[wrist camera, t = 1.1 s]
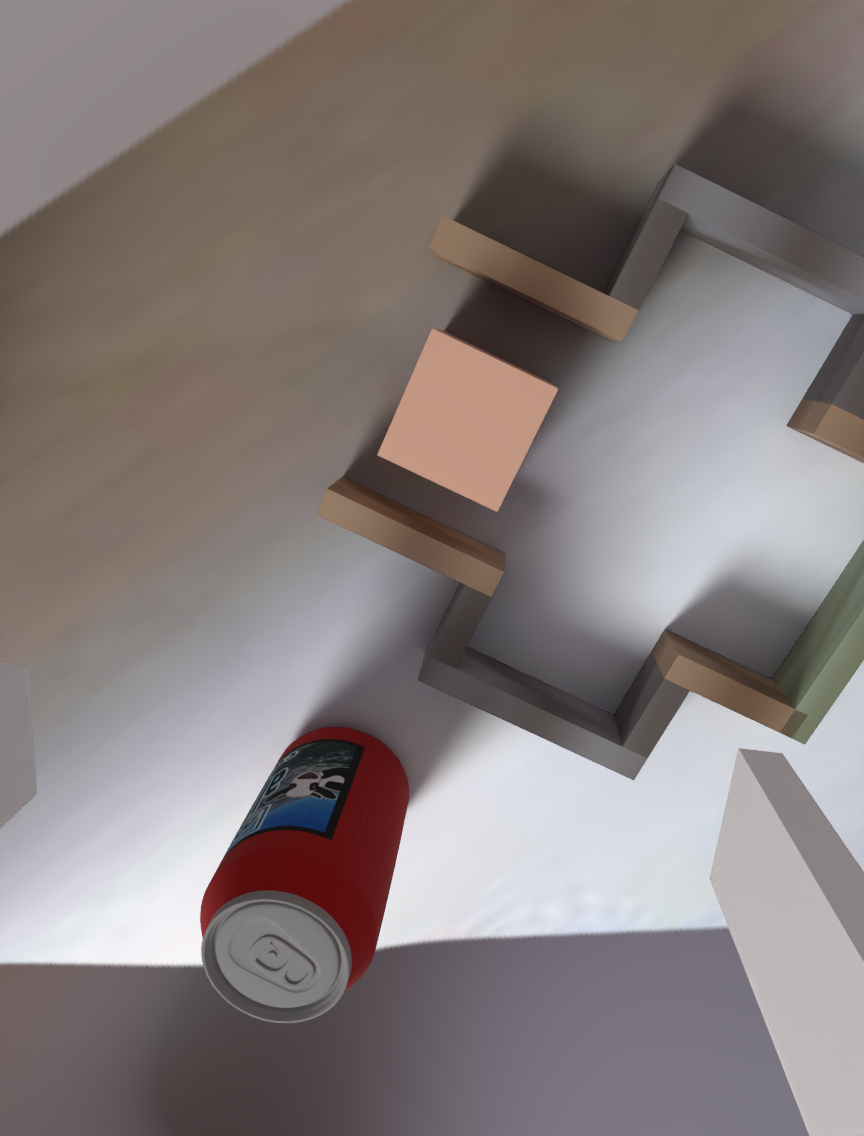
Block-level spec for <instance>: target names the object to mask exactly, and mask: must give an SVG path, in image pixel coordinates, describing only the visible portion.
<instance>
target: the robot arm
mask: <svg viewBox="0 0 864 1136" xmlns="http://www.w3.org/2000/svg"><path fill="white" fill-rule="evenodd" d="M36 794H37V789H36V774H35V760H34V746H33V731H32V717H31V702H30V688H29V673H28V665H20V664H12V663H3V662H0V829H1V828H2V827H3V826H4V825H5V824H6V823H7V822H8V821H9V820H10V819H11V818H12V817H13V816H14V815H15V814H16V813H17V812H18V811H19V810H20V809H21V808H22V807H23V806H25V805H26V804H27V803H28V802H29V801H30V800H31V799H32V798H33V797H34V796H35V795H36ZM710 881H711V884H712V886H713V889H714V891H715V894H716V897H717V899H718V902H719V904H720V907H721V909H722V912H723V915H724V917H725V920H726V922H727V925H728V927H729V930H730V933H731V935H732V938H733V940H734V943H735V945H736V948H737V951H738V953H739V956H740V958H741V961H742V963H743V966H744V969H745V971H746V974H747V976H748V979H749V981H750V984H751V987H752V989H753V991H754V994H755V997H756V999H757V1002H758V1004H759V1007H760V1010H761V1012H762V1015H763V1017H764V1020H765V1023H766V1025H767V1027H768V1030H769V1033H770V1035H771V1038H772V1040H773V1043H774V1046H775V1048H776V1051H777V1053H778V1056H779V1059H780V1061H781V1064H782V1066H783V1069H784V1071H785V1074H786V1077H787V1079H788V1081H789V1084H790V1087H791V1089H792V1092H793V1094H794V1097H795V1100H796V1102H797V1105H798V1107H799V1110H800V1112H801V1115H802V1117H803V1120H804V1123H805V1125H806V1128H807V1131H808V1133H809V1136H864V872H863V870H862V869H861V867H860V866H859V864H858V863H857V862H856V860H855V859H854V857H853V856H852V854H851V853H850V851H849V850H848V848H847V847H846V846H845V844H844V843H843V841H842V840H841V838H840V837H839V835H838V834H837V832H836V831H835V829H834V828H833V827H832V825H831V824H830V822H829V821H828V819H827V818H826V816H825V815H824V813H823V812H822V811H821V809H820V808H819V806H818V805H817V803H816V802H815V800H814V799H813V797H812V796H811V794H810V793H809V792H808V790H807V789H806V787H805V786H804V784H803V783H802V781H801V780H800V778H799V777H798V776H797V774H796V773H795V771H794V770H793V768H792V767H791V765H790V764H789V762H788V761H787V759H786V758H785V757H784V755H783V754H782V753H774V752H765V751H757V750H748V749H739V748H738V753H737V757H736V762H735V766H734V771H733V775H732V780H731V784H730V789H729V794H728V798H727V803H726V807H725V812H724V816H723V821H722V825H721V830H720V834H719V839H718V843H717V848H716V852H715V857H714V862H713V866H712V871H711V875H710Z"/></svg>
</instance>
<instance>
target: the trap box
mask: <svg viewBox="0 0 864 1136" xmlns="http://www.w3.org/2000/svg"><path fill="white" fill-rule="evenodd" d="M680 230H681V231H683V232H685V233H688V234H690V235H692V236H694V237H696V238H698V239H700V240H702V241H704V242H706V243H708V244H710V245H712V246H714V247H716V248H718V249H720V250H722V251H724V252H726V253H728V254H730V255H732V256H734V257H737V258H739V259H741V260H743V261H745V262H747V263H749V264H751V265H753V266H755V267H757V268H759V269H761V270H763V271H765V272H767V273H769V274H771V275H773V276H775V277H777V278H779V279H781V280H784V281H786V282H788V283H790V284H792V285H794V286H796V287H798V288H800V289H802V290H804V291H806V292H808V293H810V294H812V295H814V296H816V297H818V298H820V299H822V300H824V301H826V302H828V303H831V304H833V305H835V306H837V307H839V308H841V309H843V310H845V311H847V312H849V313H851V314H853V316H852V317H851V319H850V321H849V322H848V324H847V326H846V327H845V329H844V331H843V332H842V334H841V336H840V337H839V339H838V341H837V342H836V344H835V346H834V347H833V349H832V351H831V352H830V354H829V356H828V357H827V359H826V361H825V362H824V364H823V366H822V367H821V369H820V371H819V372H818V374H817V376H816V377H815V379H814V381H813V382H812V384H811V386H810V387H809V389H808V391H807V392H806V394H805V396H804V397H803V399H802V401H801V403H800V404H799V406H798V408H797V409H796V411H795V413H794V414H793V416H792V418H791V419H790V421H789V423H788V424H787V426H788V427H790V428H792V429H794V430H796V431H798V432H800V433H803V434H805V435H807V436H809V437H811V438H813V439H815V440H817V441H819V442H821V443H823V444H825V445H827V446H829V447H831V448H834V449H836V450H838V451H840V452H842V453H844V454H846V455H848V456H850V457H852V458H854V459H856V460H858V461H860V462H863V463H864V420H863V419H861V416H862V415H863V413H864V257H863V256H861V255H859V254H857V253H855V252H853V251H851V250H849V249H847V248H845V247H843V246H841V245H839V244H837V243H835V242H833V241H831V240H829V239H827V238H825V237H822V236H820V235H818V234H816V233H814V232H812V231H810V230H808V229H806V228H804V227H802V226H800V225H798V224H796V223H794V222H792V221H790V220H788V219H786V218H784V217H782V216H780V215H778V214H776V213H774V212H772V211H770V210H768V209H766V208H764V207H762V206H759V205H757V204H755V203H753V202H751V201H749V200H747V199H745V198H743V197H741V196H739V195H737V194H735V193H733V192H731V191H729V190H727V189H725V188H723V187H721V186H719V185H717V184H715V183H713V182H711V181H709V180H707V179H705V178H703V177H701V176H699V175H697V174H694V173H692V172H690V171H688V170H686V169H684V168H682V167H680V166H678V165H676V164H675V165H674V166H673V167H672V168H671V170H670V171H669V172H668V173H667V174H666V175H665V176H664V177H663V178H662V179H661V181H660V182H659V184H658V186H657V188H656V190H655V192H654V194H653V196H652V198H651V200H650V202H649V204H648V206H647V208H646V210H645V212H644V214H643V216H642V218H641V220H640V222H639V224H638V226H637V228H636V230H635V232H634V234H633V236H632V238H631V240H630V242H629V244H628V246H627V248H626V250H625V252H624V254H623V256H622V258H621V260H620V262H619V264H618V266H617V268H616V270H615V272H614V274H613V276H612V278H611V281H610V283H609V285H608V287H607V289H606V291H605V293H602V292H599V291H597V290H595V289H593V288H591V287H589V286H587V285H585V284H583V283H581V282H579V281H577V280H575V279H573V278H571V277H569V276H567V275H564V274H562V273H560V272H558V271H556V270H554V269H552V268H550V267H548V266H546V265H544V264H542V263H540V262H538V261H536V260H534V259H531V258H529V257H527V256H525V255H523V254H521V253H519V252H517V251H515V250H513V249H511V248H509V247H507V246H505V245H503V244H501V243H498V242H496V241H494V240H492V239H490V238H488V237H486V236H484V235H482V234H480V233H478V232H476V231H474V230H472V229H470V228H468V227H466V226H463V225H461V224H459V223H457V222H455V221H453V220H451V219H449V218H447V217H445V216H443V215H442V217H441V220H440V222H439V224H438V227H437V229H436V231H435V234H434V236H433V239H432V241H431V243H430V246H429V248H430V250H431V251H432V252H433V253H434V254H435V256H436V257H438V258H440V259H442V260H445V261H447V262H449V263H451V264H453V265H455V266H457V267H459V268H461V269H463V270H465V271H467V272H469V273H471V274H474V275H476V276H478V277H480V278H482V279H484V280H486V281H488V282H490V283H492V284H494V285H496V286H498V287H500V288H502V289H505V290H507V291H509V292H511V293H513V294H515V295H517V296H519V297H521V298H523V299H525V300H527V301H529V302H531V303H534V304H536V305H538V306H540V307H542V308H544V309H546V310H548V311H550V312H552V313H554V314H556V315H558V316H560V317H562V318H565V319H567V320H569V321H571V322H573V323H575V324H577V325H579V326H581V327H583V328H585V329H587V330H589V331H591V332H594V333H596V334H598V335H600V336H602V337H604V338H606V339H608V340H610V341H612V342H619V341H623V340H624V338H625V336H626V334H627V332H628V330H629V328H630V326H631V324H632V322H633V321H634V319H635V317H636V315H637V313H638V311H639V309H640V307H641V305H642V303H643V301H644V299H645V297H646V295H647V293H648V291H649V289H650V287H651V285H652V283H653V282H654V280H655V278H656V276H657V274H658V272H659V270H660V268H661V266H662V264H663V262H664V260H665V258H666V256H667V254H668V252H669V250H670V248H671V246H672V245H673V243H674V241H675V239H676V237H677V235H678V233H679V231H680ZM316 515H318V516H320V517H322V518H324V519H326V520H328V521H331V522H333V523H335V524H337V525H339V526H341V527H343V528H345V529H348V530H350V531H352V532H354V533H356V534H358V535H360V536H362V537H365V538H367V539H369V540H371V541H373V542H375V543H377V544H380V545H382V546H384V547H386V548H388V549H390V550H392V551H394V552H397V553H399V554H401V555H403V556H405V557H407V558H409V559H411V560H414V561H416V562H418V563H420V564H422V565H424V566H426V567H428V568H431V569H433V570H435V571H437V572H439V573H441V574H443V575H445V576H448V577H450V578H452V579H454V580H456V581H458V582H460V585H459V587H458V589H457V591H456V593H455V595H454V597H453V599H452V601H451V603H450V605H449V607H448V609H447V611H446V613H445V615H444V617H443V619H442V621H441V623H440V625H439V627H438V629H437V631H436V633H435V635H434V637H433V639H432V641H431V643H430V645H429V647H428V649H427V651H426V653H425V656H424V660H423V663H422V667H421V671H420V674H419V678H418V680H419V681H421V682H423V683H426V684H428V685H430V686H432V687H434V688H436V689H438V690H441V691H443V692H445V693H447V694H449V695H451V696H454V697H456V698H458V699H460V700H462V701H464V702H466V703H469V704H471V705H473V706H475V707H477V708H479V709H481V710H484V711H486V712H488V713H490V714H492V715H494V716H497V717H499V718H501V719H503V720H505V721H507V722H509V723H512V724H514V725H516V726H518V727H520V728H522V729H524V730H527V731H529V732H531V733H533V734H535V735H537V736H540V737H542V738H544V739H546V740H548V741H550V742H552V743H555V744H557V745H559V746H561V747H563V748H565V749H568V750H570V751H572V752H574V753H576V754H578V755H580V756H583V757H585V758H587V759H589V760H591V761H593V762H595V763H598V764H600V765H602V766H604V767H606V768H608V769H611V770H613V771H615V772H617V773H619V774H621V775H623V776H626V777H628V778H630V779H632V780H634V779H635V777H636V776H637V774H638V773H639V771H640V769H641V768H642V766H643V765H644V763H645V761H646V760H647V758H648V757H649V755H650V753H651V752H652V750H653V749H654V747H655V745H656V744H657V742H658V741H659V739H660V737H661V736H662V734H663V733H664V731H665V729H666V728H667V726H668V725H669V723H670V722H671V720H672V718H673V717H674V715H675V714H676V712H677V710H678V709H679V707H680V706H681V704H682V702H683V701H684V699H685V698H686V696H687V694H688V693H689V691H692V692H694V693H697V694H699V695H701V696H703V697H705V698H707V699H709V700H711V701H714V702H716V703H718V704H720V705H722V706H724V707H726V708H728V709H731V710H733V711H735V712H737V713H739V714H741V715H743V716H745V717H748V718H750V719H752V720H754V721H756V722H758V723H760V724H762V725H765V726H767V727H769V728H771V729H773V730H775V731H777V732H780V733H782V734H784V735H786V736H788V737H790V738H792V739H794V740H797V741H799V742H801V743H803V744H806V742H807V741H808V739H809V738H810V736H811V735H812V734H813V732H814V731H815V729H816V728H817V726H818V725H819V723H820V722H821V721H822V719H823V718H824V716H825V715H826V713H827V712H828V711H829V709H830V708H831V706H832V705H833V703H834V702H835V700H836V699H837V698H838V696H839V695H840V693H841V692H842V690H843V689H844V688H845V686H846V685H847V683H848V682H849V680H850V679H851V677H852V676H853V675H854V673H855V672H856V670H857V669H858V667H859V666H860V665H861V663H862V662H863V660H864V541H863V542H862V544H861V545H860V547H859V548H858V550H857V551H856V553H855V555H854V556H853V558H852V559H851V561H850V562H849V564H848V565H847V567H846V568H845V570H844V571H843V573H842V574H841V576H840V577H839V579H838V580H837V582H836V583H835V585H834V586H833V588H832V589H831V591H830V592H829V594H828V595H827V597H826V598H825V600H824V601H823V603H822V605H821V606H820V608H819V609H818V611H817V612H816V614H815V615H814V617H813V618H812V620H811V621H810V623H809V624H808V626H807V627H806V629H805V630H804V632H803V633H802V635H801V636H800V638H799V639H798V641H797V642H796V644H795V645H794V647H793V648H792V650H791V651H790V653H789V654H788V656H787V658H786V659H785V661H784V662H783V664H782V665H781V667H780V668H779V670H778V671H777V673H776V674H775V676H774V677H773V679H770V678H768V677H765V676H763V675H761V674H759V673H757V672H755V671H753V670H751V669H748V668H746V667H744V666H742V665H740V664H738V663H736V662H734V661H732V660H729V659H727V658H725V657H723V656H721V655H719V654H717V653H715V652H712V651H710V650H708V649H706V648H704V647H702V646H700V645H698V644H696V643H693V642H691V641H689V640H687V639H685V638H683V637H681V636H679V635H676V634H674V633H672V632H670V631H668V630H666V629H665V630H664V632H663V633H662V635H661V637H660V638H659V640H658V642H657V643H656V645H655V647H654V648H653V650H652V652H651V653H650V655H649V657H648V658H647V660H646V662H645V663H644V665H643V667H642V668H641V670H640V672H639V673H638V675H637V677H636V679H635V680H634V682H633V684H632V685H631V687H630V689H629V690H628V692H627V694H626V695H625V697H624V699H623V700H622V702H621V704H620V705H619V707H618V709H617V710H616V712H615V714H614V715H612V714H610V713H608V712H606V711H604V710H601V709H599V708H597V707H595V706H593V705H591V704H589V703H586V702H584V701H582V700H580V699H578V698H576V697H574V696H571V695H569V694H567V693H565V692H563V691H561V690H559V689H557V688H554V687H552V686H550V685H548V684H546V683H544V682H542V681H539V680H537V679H535V678H533V677H531V676H529V675H527V674H524V673H522V672H520V671H518V670H516V669H514V668H512V667H509V666H507V665H505V664H503V663H501V662H499V661H497V660H494V659H492V658H490V657H488V656H486V655H484V654H482V653H479V652H477V651H475V650H473V649H471V648H469V647H467V644H468V642H469V640H470V638H471V636H472V634H473V632H474V630H475V628H476V626H477V624H478V622H479V621H480V619H481V617H482V615H483V613H484V611H485V609H486V607H487V605H488V603H489V601H490V599H491V597H492V595H493V593H494V591H495V589H496V587H497V585H498V584H499V582H500V580H501V578H502V576H503V574H504V565H505V553H503V552H501V551H499V550H496V549H494V548H492V547H490V546H488V545H486V544H484V543H482V542H479V541H477V540H475V539H473V538H471V537H469V536H467V535H465V534H463V533H460V532H458V531H456V530H454V529H452V528H450V527H448V526H446V525H443V524H441V523H439V522H437V521H435V520H433V519H431V518H429V517H427V516H424V515H422V514H420V513H418V512H416V511H414V510H412V509H410V508H407V507H405V506H403V505H401V504H399V503H397V502H395V501H393V500H390V499H388V498H386V497H384V496H382V495H380V494H378V493H376V492H374V491H371V490H369V489H367V488H365V487H363V486H361V485H359V484H357V483H354V482H352V481H350V480H348V479H346V478H344V477H342V478H340V479H339V480H338V481H336V482H335V483H334V484H333V485H331V486H330V487H329V488H327V490H326V493H325V495H324V497H323V500H322V502H321V504H320V507H319V509H318V512H317V514H316Z"/></svg>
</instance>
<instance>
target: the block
mask: <svg viewBox="0 0 864 1136" xmlns="http://www.w3.org/2000/svg"><path fill="white" fill-rule="evenodd" d="M557 391H558V388H557V387H556V386H555V385H554V384H553V383H551V382H549V381H547V380H545V379H543V378H541V377H539V376H537V375H535V374H533V373H530V372H528V371H526V370H524V369H522V368H520V367H518V366H516V365H514V364H512V363H510V362H508V361H505V360H503V359H501V358H499V357H497V356H495V355H493V354H491V353H489V352H487V351H485V350H483V349H480V348H478V347H476V346H474V345H472V344H470V343H468V342H466V341H464V340H462V339H460V338H458V337H455V336H453V335H451V334H449V333H447V332H445V331H442V330H438V329H433V328H432V330H431V333H430V335H429V337H428V340H427V342H426V344H425V346H424V349H423V351H422V353H421V356H420V358H419V360H418V362H417V365H416V367H415V369H414V372H413V374H412V376H411V379H410V381H409V383H408V385H407V388H406V390H405V392H404V395H403V397H402V399H401V401H400V404H399V406H398V408H397V411H396V413H395V415H394V418H393V420H392V422H391V424H390V427H389V429H388V431H387V434H386V436H385V438H384V440H383V443H382V445H381V447H380V450H379V452H378V454H377V455H378V456H380V457H382V458H384V459H386V460H388V461H391V462H393V463H395V464H397V465H399V466H401V467H403V468H405V469H407V470H410V471H412V472H414V473H416V474H418V475H420V476H422V477H424V478H426V479H429V480H431V481H433V482H435V483H437V484H439V485H441V486H443V487H445V488H448V489H450V490H452V491H454V492H456V493H458V494H460V495H462V496H464V497H467V498H469V499H471V500H473V501H475V502H477V503H479V504H481V505H483V506H486V507H488V508H490V509H492V510H494V511H496V512H498V510H499V508H500V506H501V504H502V502H503V500H504V498H505V496H506V494H507V492H508V490H509V487H510V485H511V483H512V481H513V479H514V477H515V475H516V473H517V471H518V469H519V467H520V465H521V463H522V461H523V459H524V457H525V455H526V453H527V451H528V449H529V447H530V445H531V443H532V441H533V439H534V437H535V435H536V433H537V431H538V429H539V427H540V425H541V423H542V421H543V419H544V417H545V415H546V413H547V411H548V409H549V407H550V405H551V403H552V401H553V399H554V397H555V395H556V393H557Z"/></svg>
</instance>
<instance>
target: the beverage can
mask: <svg viewBox="0 0 864 1136" xmlns="http://www.w3.org/2000/svg"><path fill="white" fill-rule="evenodd" d="M408 799H409V787H408V781H407V778H406V774H405V772H404V769H403V767H402V765H401V763H400V762H399V760H398V759H397V757H396V756H395V755H394V753H393V752H392V751H391V750H390V749H389V748H388V747H387V746H386V745H384V744H383V743H382V742H381V741H379V740H378V739H376V738H374V737H373V736H371V735H369V734H366V733H364V732H361V731H358V730H355V729H351V728H344V727H328V728H321V729H317V730H314V731H311V732H308V733H306V734H304V735H303V736H301V737H299V738H298V739H296V740H295V741H294V742H293V743H291V744H290V745H289V746H288V748H287V749H286V750H285V751H284V753H283V754H282V756H281V758H280V759H279V761H278V763H277V764H276V766H275V768H274V769H273V771H272V773H271V774H270V776H269V778H268V779H267V781H266V783H265V785H264V786H263V788H262V790H261V792H260V793H259V795H258V797H257V799H256V800H255V802H254V804H253V806H252V807H251V809H250V811H249V813H248V814H247V816H246V818H245V820H244V822H243V823H242V825H241V827H240V829H239V830H238V832H237V834H236V836H235V838H234V839H233V841H232V843H231V845H230V847H229V848H228V850H227V852H226V854H225V856H224V858H223V860H222V861H221V863H220V865H219V867H218V869H217V871H216V872H215V874H214V876H213V878H212V880H211V882H210V883H209V885H208V887H207V889H206V892H205V894H204V897H203V900H202V905H201V915H200V922H201V930H202V937H203V941H202V948H201V950H202V962H203V966H204V969H205V972H206V975H207V977H208V979H209V980H210V982H211V984H212V985H213V987H214V988H215V989H216V991H217V992H218V993H219V994H220V995H221V996H222V997H223V998H224V999H225V1000H226V1001H227V1002H228V1003H230V1004H231V1005H232V1006H234V1007H235V1008H237V1009H238V1010H240V1011H242V1012H244V1013H246V1014H248V1015H250V1016H252V1017H255V1018H258V1019H261V1020H265V1021H270V1022H276V1023H295V1022H302V1021H306V1020H310V1019H313V1018H315V1017H317V1016H320V1015H321V1014H323V1013H325V1012H326V1011H328V1010H329V1009H330V1008H332V1007H333V1006H334V1005H335V1004H336V1003H337V1002H338V1000H339V999H340V998H341V996H342V995H343V993H344V992H345V991H346V990H347V989H349V988H350V987H351V986H352V985H353V984H355V983H356V982H357V981H358V980H359V979H360V978H361V976H362V975H363V974H364V973H365V971H366V970H367V968H368V967H369V965H370V963H371V961H372V959H373V955H374V953H375V949H376V945H377V941H378V937H379V932H380V928H381V924H382V920H383V916H384V912H385V907H386V903H387V899H388V894H389V890H390V885H391V881H392V877H393V872H394V868H395V863H396V858H397V854H398V849H399V844H400V840H401V835H402V830H403V825H404V820H405V815H406V810H407V805H408Z"/></svg>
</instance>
